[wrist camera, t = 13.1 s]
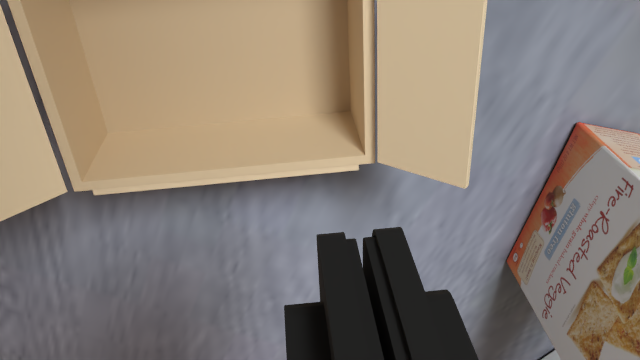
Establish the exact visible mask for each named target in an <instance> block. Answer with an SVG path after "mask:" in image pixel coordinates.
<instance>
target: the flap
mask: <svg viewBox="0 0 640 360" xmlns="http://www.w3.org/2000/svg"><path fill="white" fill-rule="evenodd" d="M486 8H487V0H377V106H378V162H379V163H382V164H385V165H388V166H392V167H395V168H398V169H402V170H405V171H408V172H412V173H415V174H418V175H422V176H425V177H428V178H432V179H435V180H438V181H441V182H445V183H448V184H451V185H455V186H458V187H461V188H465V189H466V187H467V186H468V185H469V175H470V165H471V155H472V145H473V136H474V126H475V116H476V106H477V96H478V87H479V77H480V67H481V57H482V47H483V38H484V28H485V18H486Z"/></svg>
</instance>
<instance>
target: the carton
mask: <svg viewBox="0 0 640 360" xmlns="http://www.w3.org/2000/svg"><path fill="white" fill-rule="evenodd" d="M7 1H8V4H9V7H10V10H11V13H12V16H13V18H14V21H15V24H16V27H17V30H18V33H19V35H20V38H21V41H22V44H23V47H24V50H25V53H26V55H27V58H28V61H29V64H30V67H31V70H32V72H33V75H34V78H35V81H36V84H37V87H38V90H39V92H40V95H41V98H42V101H43V104H44V107H45V109H46V112H47V115H48V118H49V121H50V124H51V127H52V129H53V132H54V135H55V138H56V141H57V144H58V146H59V149H60V152H61V155H62V158H63V161H64V164H65V166H66V169H67V172H68V175H69V178H70V181H71V183H72V186H73V189H74V192H76V191H87V190H92V191H93V194H94V195H104V194H114V193H125V192H135V191H146V190H156V189H166V188H177V187H187V186H198V185H208V184H219V183H229V182H239V181H250V180H260V179H271V178H281V177H292V176H302V175H313V174H323V173H333V172H344V171H354V170H359V164H370V163H375V46H374V0H7Z"/></svg>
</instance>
